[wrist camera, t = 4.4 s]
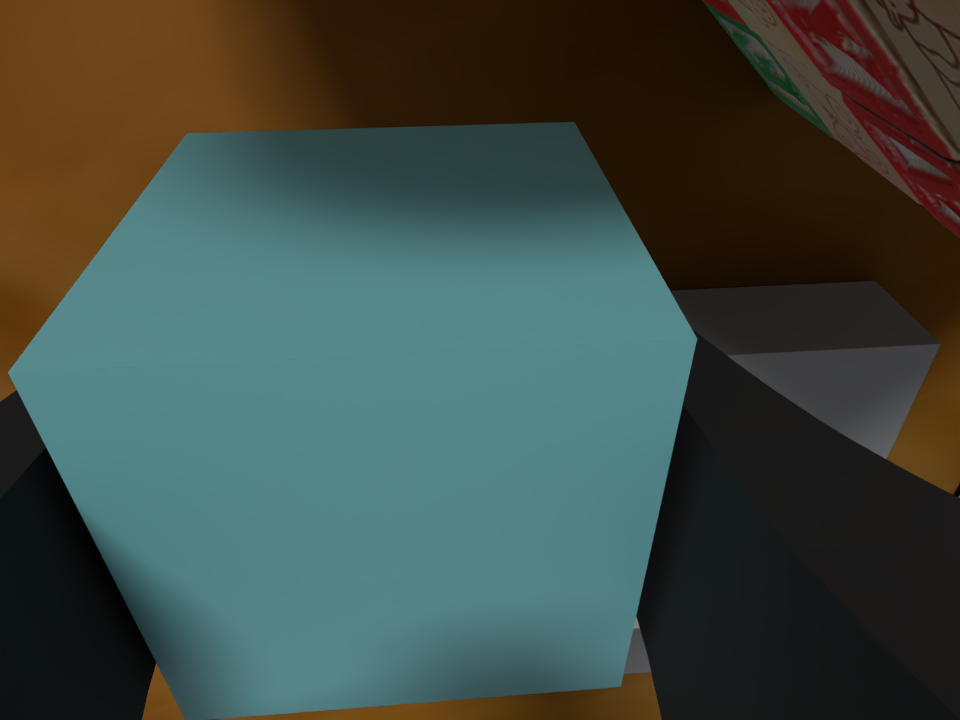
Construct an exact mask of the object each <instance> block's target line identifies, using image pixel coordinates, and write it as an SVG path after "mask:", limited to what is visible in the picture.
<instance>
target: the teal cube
mask: <svg viewBox="0 0 960 720" xmlns="http://www.w3.org/2000/svg"><path fill="white" fill-rule="evenodd" d="M696 342H697V337H696V336H695V334H694V332H693V330H692V329H691V327H690V325H689V323H688V322H687V320H686V318H685V316H684V315H683V313H682V311H681V309H680V308H679V306H678V304H677V302H676V300H675V299H674V297H673V295H672V293H671V292H670V290H669V288H668V286H667V285H666V283H665V281H664V279H663V278H662V276H661V274H660V272H659V270H658V269H657V267H656V265H655V263H654V262H653V260H652V258H651V256H650V255H649V253H648V251H647V249H646V248H645V246H644V244H643V242H642V240H641V239H640V237H639V235H638V233H637V232H636V230H635V228H634V226H633V225H632V223H631V221H630V219H629V218H628V216H627V214H626V212H625V210H624V209H623V207H622V205H621V203H620V202H619V200H618V198H617V196H616V195H615V193H614V191H613V189H612V188H611V186H610V184H609V182H608V180H607V179H606V177H605V175H604V173H603V172H602V170H601V168H600V166H599V165H598V163H597V161H596V159H595V158H594V156H593V154H592V152H591V151H590V149H589V147H588V145H587V143H586V142H585V140H584V138H583V136H582V135H581V133H580V131H579V129H578V128H577V126H576V124H575V122H554V123H521V124H487V125H454V126H420V127H387V128H353V129H320V130H286V131H253V132H219V133H187V134H186V135H185V137H184V138H183V139H182V141H181V142H180V143H179V145H178V146H177V147H176V149H175V150H174V151H173V153H172V154H171V155H170V157H169V158H168V159H167V161H166V162H165V163H164V165H163V166H162V167H161V169H160V170H159V171H158V173H157V174H156V175H155V177H154V178H153V179H152V181H151V182H150V183H149V185H148V186H147V187H146V189H145V190H144V191H143V193H142V194H141V196H140V197H139V198H138V200H137V201H136V202H135V204H134V205H133V206H132V208H131V209H130V210H129V212H128V213H127V214H126V216H125V217H124V218H123V220H122V221H121V222H120V224H119V225H118V226H117V228H116V229H115V230H114V232H113V233H112V234H111V236H110V237H109V238H108V240H107V241H106V242H105V244H104V245H103V246H102V248H101V249H100V250H99V252H98V253H97V254H96V256H95V257H94V258H93V260H92V261H91V262H90V264H89V265H88V266H87V268H86V269H85V270H84V272H83V273H82V274H81V276H80V277H79V278H78V280H77V281H76V282H75V284H74V285H73V286H72V288H71V289H70V290H69V292H68V293H67V294H66V296H65V297H64V298H63V300H62V301H61V302H60V304H59V305H58V307H57V308H56V309H55V311H54V312H53V313H52V315H51V316H50V317H49V319H48V320H47V321H46V323H45V324H44V325H43V327H42V328H41V329H40V331H39V332H38V333H37V335H36V336H35V337H34V339H33V340H32V341H31V343H30V344H29V345H28V347H27V348H26V349H25V351H24V352H23V353H22V355H21V356H20V357H19V359H18V360H17V361H16V363H15V364H14V365H13V367H12V368H11V369H10V371H9V372H8V373H9V375H10V377H11V379H12V381H13V383H14V385H15V387H16V389H17V391H18V393H19V395H20V397H21V399H22V401H23V403H24V405H25V407H26V409H27V411H28V413H29V414H30V416H31V418H32V420H33V422H34V424H35V426H36V428H37V430H38V432H39V434H40V436H41V438H42V440H43V442H44V444H45V446H46V448H47V450H48V452H49V454H50V456H51V458H52V459H53V461H54V463H55V465H56V467H57V469H58V471H59V473H60V475H61V477H62V479H63V481H64V483H65V485H66V487H67V489H68V491H69V493H70V495H71V497H72V499H73V501H74V503H75V504H76V506H77V508H78V510H79V512H80V514H81V516H82V518H83V520H84V522H85V524H86V526H87V528H88V530H89V532H90V534H91V536H92V538H93V540H94V542H95V544H96V546H97V548H98V549H99V551H100V553H101V555H102V557H103V559H104V561H105V563H106V565H107V567H108V569H109V571H110V573H111V575H112V577H113V579H114V581H115V583H116V585H117V587H118V589H119V591H120V593H121V594H122V596H123V598H124V600H125V602H126V604H127V606H128V608H129V610H130V612H131V614H132V616H133V618H134V620H135V622H136V624H137V626H138V628H139V630H140V632H141V634H142V636H143V638H144V639H145V641H146V643H147V645H148V647H149V649H150V651H151V653H152V655H153V657H154V659H155V661H156V663H157V665H158V667H159V669H160V671H161V673H162V675H163V677H164V679H165V681H166V683H167V684H168V686H169V688H170V690H171V692H172V694H173V696H174V698H175V700H176V702H177V704H178V706H179V708H180V710H181V712H182V714H183V716H184V718H185V720H208V719H221V718H234V717H246V716H259V715H272V714H284V713H297V712H310V711H322V710H335V709H347V708H360V707H373V706H385V705H398V704H411V703H423V702H436V701H449V700H461V699H474V698H487V697H499V696H512V695H525V694H537V693H550V692H562V691H575V690H588V689H600V688H613V687H621V683H622V678H623V674H624V669H625V665H626V660H627V656H628V651H629V646H630V642H631V637H632V633H633V628H634V624H635V619H636V615H637V610H638V605H639V601H640V596H641V592H642V587H643V583H644V578H645V574H646V569H647V565H648V560H649V555H650V551H651V546H652V542H653V537H654V533H655V528H656V524H657V519H658V515H659V510H660V505H661V501H662V496H663V492H664V487H665V483H666V478H667V474H668V469H669V465H670V460H671V455H672V451H673V446H674V442H675V437H676V433H677V428H678V424H679V419H680V415H681V410H682V405H683V401H684V396H685V392H686V387H687V383H688V378H689V374H690V369H691V365H692V360H693V355H694V351H695V346H696Z"/></svg>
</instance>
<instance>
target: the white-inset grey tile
mask: <svg viewBox="0 0 960 720" xmlns="http://www.w3.org/2000/svg"><path fill="white" fill-rule="evenodd" d="M670 292H671V293H672V295H673V297H674V299H675V300H676V302H677V304H678V306H679V308H680V309H681V311H682V313H683V315H684V316H685V318H686V320H687V322H688V323H689V325H690V327H691V328H692V329H693V330H695V331H696V332H697V333H698V334H700V335H701V336H702V337H704V338H705V339H706V340H707V341H709V342H710V343H711V344H712V345H714V346H715V347H716V348H718V349H719V350H720V351H722V352H723V353H724V354H726V355H727V356H728V357H730V358H731V359H732V360H733V361H735V362H736V363H738V364H739V365H740V366H742V367H743V368H744V369H746V370H747V371H748V372H750V373H751V374H753V375H754V376H755V377H757V378H758V379H760V380H761V381H762V382H764V383H765V384H767V385H768V386H769V387H771V388H772V389H774V390H775V391H777V392H778V393H780V394H781V395H783V396H784V397H786V398H787V399H789V400H790V401H792V402H793V403H795V404H796V405H798V406H799V407H801V408H802V409H804V410H805V411H807V412H808V413H810V414H811V415H813V416H814V417H816V418H817V419H819V420H820V421H822V422H823V423H825V424H827V425H828V426H830V427H832V428H833V429H835V430H836V431H838V432H840V433H841V434H843V435H845V436H846V437H848V438H850V439H852V440H853V441H855V442H857V443H859V444H860V445H862V446H864V447H866V448H867V449H869V450H871V451H873V452H874V453H876V454H878V455H880V456H881V457H883V458H885V459H887V457H888V454H889V452H890V450H891V448H892V446H893V444H894V442H895V440H896V438H897V435H898V433H899V431H900V429H901V427H902V425H903V423H904V421H905V419H906V416H907V414H908V412H909V410H910V408H911V406H912V404H913V402H914V399H915V397H916V395H917V393H918V391H919V389H920V387H921V385H922V383H923V380H924V378H925V376H926V374H927V372H928V370H929V368H930V366H931V364H932V361H933V359H934V357H935V355H936V353H937V351H938V349H939V347H940V345H941V344H940V343H939V342H938V341H937V340H936V339H935V338H934V337H933V336H932V335H931V334H930V333H929V332H928V331H927V330H926V329H925V328H924V327H923V326H922V325H921V324H920V323H919V322H918V321H916V320H915V319H914V318H913V317H912V316H911V315H910V314H909V313H908V312H907V311H906V310H905V309H904V308H903V307H902V306H901V305H900V304H899V303H898V302H897V301H896V300H895V299H894V298H893V297H892V296H890V295H889V294H888V293H887V292H886V291H885V290H884V289H883V288H882V287H881V286H880V285H879V284H878V283H877V282H876V281H859V282H838V283H817V284H796V285H775V286H754V287H734V288H713V289H692V290H671V291H670ZM646 672H651V669H650V664H649V660H648V656H647V652H646V648H645V645H644V641H643V638H642V634H641V631H640V627H639V624H638V620H637V617H636V619H635V624H634V628H633V633H632V637H631V642H630V646H629V651H628V656H627V660H626V665H625V669H624V674H634V673H646Z"/></svg>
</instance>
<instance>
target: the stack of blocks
mask: <svg viewBox="0 0 960 720" xmlns="http://www.w3.org/2000/svg"><path fill="white" fill-rule="evenodd" d="M702 2H703V3H704V4H705V5H706V6H707V8H708V9H709V10H710V12H711V13H712V14H713V16H714V17H715V18H716V19H717V21H718V22H719V23H720V25H721V26H722V27H723V28H724V30H725V31H726V32H727V34H728V35H729V36H730V37H731V39H732V40H733V41H734V43H735V44H736V45H737V47H738V48H739V49H740V50H741V52H742V53H743V54H744V56H745V57H746V58H747V60H748V61H749V62H750V63H751V65H752V66H753V67H754V68H755V70H756V71H757V72H758V74H759V75H760V76H761V77H762V78H763V80H764V81H765V83H766V84H767V85H768V87H769V88H770V90H771V91H772V92H773V94H774V95H776V96H777V97H778V98H779V99H780V100H781V101H782V102H784V103H785V104H786V105H788V106H789V107H790V108H792V109H793V110H794V111H796V112H797V113H798V114H799V115H801V116H802V117H804V118H805V119H807V120H808V121H810V122H811V123H812V124H814V125H815V126H817V127H818V128H819V129H821V130H822V131H823V132H825V133H826V134H827V135H828V136H830V137H832V138H833V139H835V140H837V141H839V142H840V143H841V144H843V145H844V146H845V147H846V148H848V149H849V150H850V151H851V152H853V153H854V154H855V155H856V156H858V157H859V158H860V159H862V160H863V161H864V162H865V163H867V164H868V165H869V166H870V167H872V168H873V169H874V170H876V171H877V172H878V173H879V174H881V175H882V176H883V177H885V178H886V179H887V180H888V181H890V182H891V183H892V184H893V185H895V186H896V187H897V188H899V189H900V190H901V191H903V192H904V193H905V194H907V195H908V196H909V197H910V198H912V199H913V200H914V201H915V202H917V203H918V204H919V205H923V206H924V207H925V208H926V209H927V210H928V211H929V213H930V214H931V215H932V216H933V217H934V218H935V219H936V220H937V221H939V222H940V223H941V224H942V225H944V226H945V227H946V228H947V229H949V230H950V231H951V232H952V233H953V234H955V235H956V236H957V237H958V238H960V0H702Z"/></svg>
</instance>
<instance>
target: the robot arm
mask: <svg viewBox="0 0 960 720" xmlns="http://www.w3.org/2000/svg"><path fill="white" fill-rule="evenodd" d="M691 329H692V328H691ZM692 330H693V329H692ZM693 332H694V334H695V336H696V337H697V342H696V346H695V351H694V355H693V360H692V365H691V369H690V374H689V378H688V383H687V387H686V392H685V396H684V401H683V405H682V410H681V415H680V419H679V424H678V428H677V433H676V437H675V442H674V446H673V451H672V455H671V460H670V465H669V469H668V474H667V478H666V483H665V487H664V492H663V496H662V501H661V505H660V510H659V515H658V519H657V524H656V528H655V533H654V537H653V542H652V546H651V551H650V555H649V560H648V565H647V569H646V574H645V578H644V583H643V587H642V592H641V596H640V601H639V605H638V610H637V615H636V617H637V620H638V624H639V627H640V631H641V634H642V638H643V641H644V645H645V648H646V652H647V656H648V660H649V664H650V669H651V673H652V677H653V682H654V686H655V691H656V695H657V699H658V704H659V708H660V713H661V717H662V720H960V495H959V497H957V496H955V495H952V494H950V493H948V492H946V491H944V490H942V489H940V488H939V487H937V486H935V485H933V484H931V483H929V482H927V481H925V480H923V479H921V478H919V477H917V476H915V475H914V474H912V473H910V472H908V471H906V470H904V469H902V468H901V467H899V466H897V465H895V464H894V463H892V462H890V461H888V460H887V459H885V458H883V457H881V456H880V455H878V454H876V453H874V452H873V451H871V450H869V449H867V448H866V447H864V446H862V445H860V444H859V443H857V442H855V441H853V440H852V439H850V438H848V437H846V436H845V435H843V434H841V433H840V432H838V431H836V430H835V429H833V428H832V427H830V426H828V425H827V424H825V423H823V422H822V421H820V420H819V419H817V418H816V417H814V416H813V415H811V414H810V413H808V412H807V411H805V410H804V409H802V408H801V407H799V406H798V405H796V404H795V403H793V402H792V401H790V400H789V399H787V398H786V397H784V396H783V395H781V394H780V393H778V392H777V391H775V390H774V389H772V388H771V387H769V386H768V385H767V384H765V383H764V382H762V381H761V380H760V379H758V378H757V377H755V376H754V375H753V374H751V373H750V372H748V371H747V370H746V369H744V368H743V367H742V366H740V365H739V364H738V363H736V362H735V361H733V360H732V359H731V358H730V357H728V356H727V355H726V354H724V353H723V352H722V351H720V350H719V349H718V348H716V347H715V346H714V345H712V344H711V343H710V342H709V341H707V340H706V339H705V338H704V337H702V336H701V335H700V334H698V333H697V332H696V331H695V330H693ZM155 665H156V661H155V659H154V657H153V655H152V653H151V651H150V649H149V647H148V645H147V643H146V641H145V639H144V638H143V636H142V634H141V632H140V630H139V628H138V626H137V624H136V622H135V620H134V618H133V616H132V614H131V612H130V610H129V608H128V606H127V604H126V602H125V600H124V598H123V596H122V594H121V593H120V591H119V589H118V587H117V585H116V583H115V581H114V579H113V577H112V575H111V573H110V571H109V569H108V567H107V565H106V563H105V561H104V559H103V557H102V555H101V553H100V551H99V549H98V548H97V546H96V544H95V542H94V540H93V538H92V536H91V534H90V532H89V530H88V528H87V526H86V524H85V522H84V520H83V518H82V516H81V514H80V512H79V510H78V508H77V506H76V504H75V503H74V501H73V499H72V497H71V495H70V493H69V491H68V489H67V487H66V485H65V483H64V481H63V479H62V477H61V475H60V473H59V471H58V469H57V467H56V465H55V463H54V461H53V459H52V458H51V456H50V454H49V452H48V450H47V448H46V446H45V444H44V442H43V440H42V438H41V436H40V434H39V432H38V430H37V428H36V426H35V424H34V422H33V420H32V418H31V416H30V414H29V413H28V411H27V409H26V407H25V405H24V403H23V401H22V399H21V397H20V395H19V393H18V391H17V390H16V391H15V392H13V393H12V394H11V395H9V396H8V397H7V398H5V399H4V400H2V401H1V402H0V720H142V716H143V712H144V707H145V703H146V698H147V694H148V690H149V686H150V683H151V679H152V676H153V672H154V669H155Z"/></svg>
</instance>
